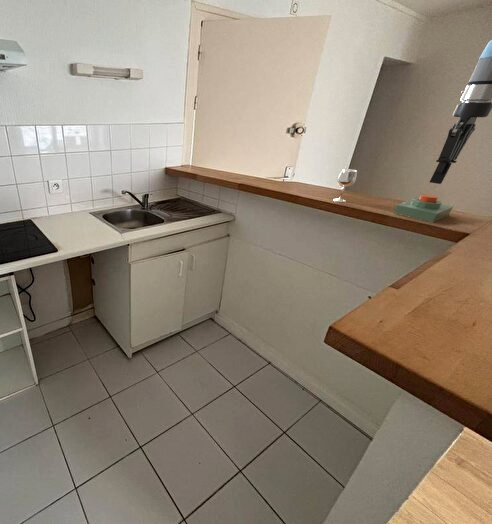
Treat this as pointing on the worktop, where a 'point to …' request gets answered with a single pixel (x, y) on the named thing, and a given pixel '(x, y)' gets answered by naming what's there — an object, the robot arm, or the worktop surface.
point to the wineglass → (346, 181)
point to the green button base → (423, 210)
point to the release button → (428, 198)
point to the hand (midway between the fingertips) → (435, 182)
